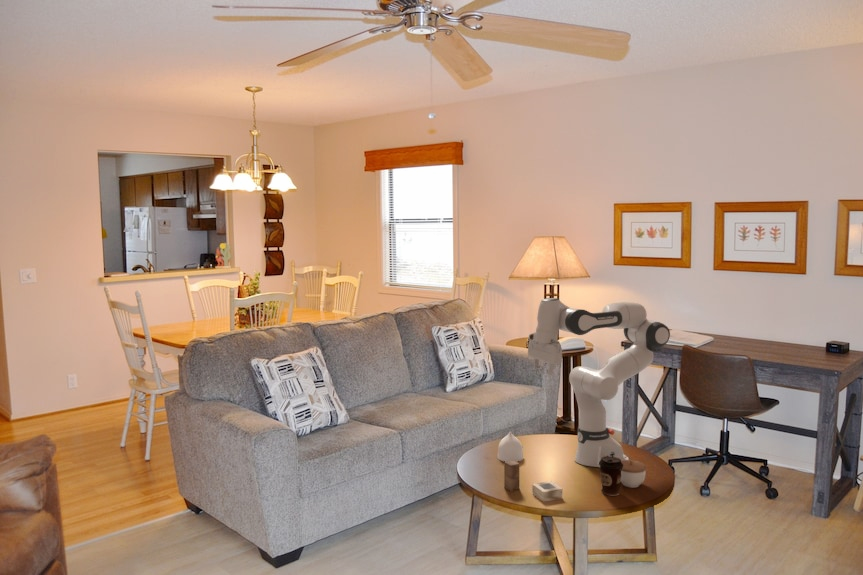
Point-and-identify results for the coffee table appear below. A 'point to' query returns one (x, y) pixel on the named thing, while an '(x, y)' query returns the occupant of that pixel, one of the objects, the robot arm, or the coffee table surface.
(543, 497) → the birch plinth
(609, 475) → the coffee cup
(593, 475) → the coffee table surface
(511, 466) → the walnut pillar
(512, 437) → the teardrop
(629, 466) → the lidded jar
